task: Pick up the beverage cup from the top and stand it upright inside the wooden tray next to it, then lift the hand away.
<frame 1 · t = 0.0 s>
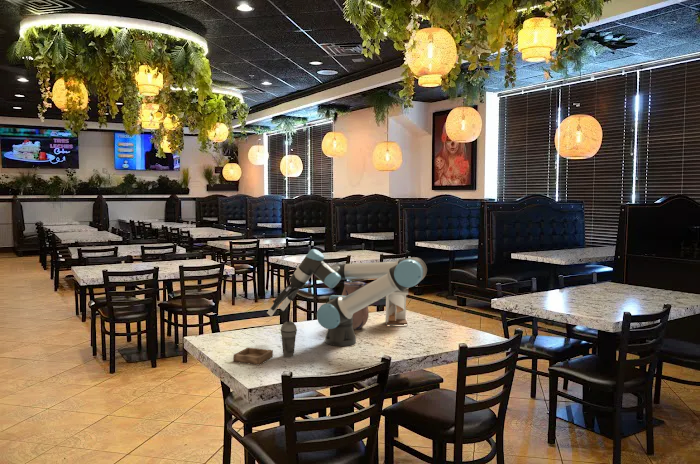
hand: (275, 311, 260), 15 cm above the table, tool tilted 35°, fingers open, 13 cm apart
wooden tray: (253, 359, 234), on the table
beverage cup: (288, 356, 240), on the table
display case: (396, 324, 307), on the table
ceramic pitcher: (354, 328, 296), on the table
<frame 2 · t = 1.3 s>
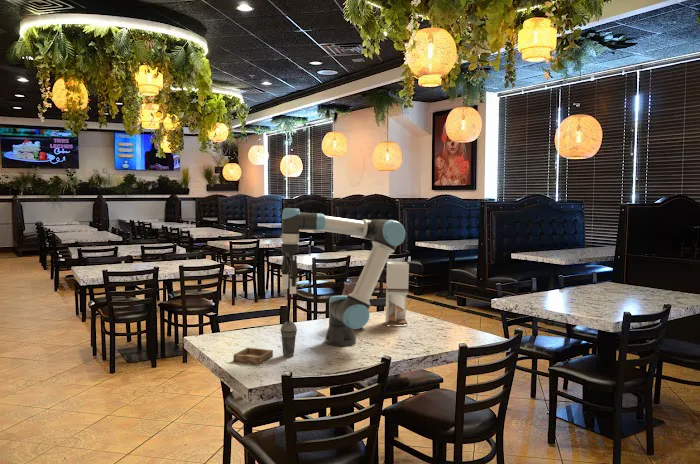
hand: (288, 291, 239), 29 cm above the table, tool pointing down, fingers open, 13 cm apart
nothing on the table moved.
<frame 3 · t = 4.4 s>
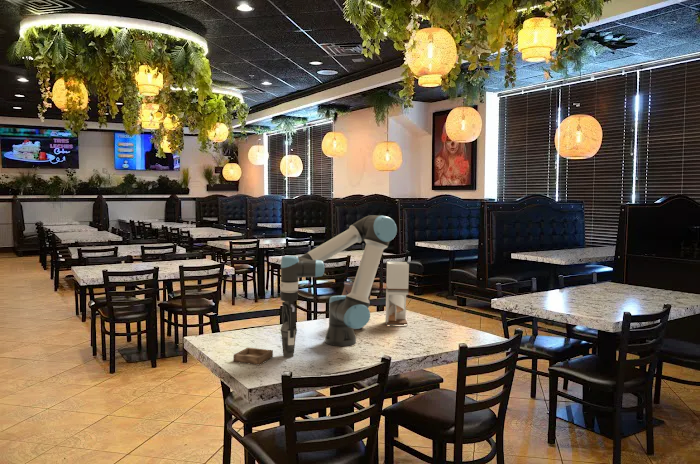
hand: (288, 342, 240), 6 cm above the table, tool pointing down, fingers closed on beverage cup, 7 cm apart
beverage cup: (288, 356, 240), on the table, touching gripper
everything else where it was.
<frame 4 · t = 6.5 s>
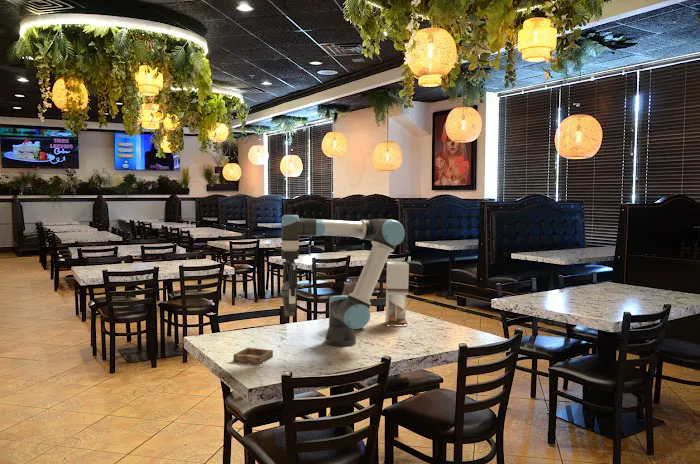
hand: (289, 301, 239), 24 cm above the table, tool pointing down, fingers closed on beverage cup, 7 cm apart
beverage cup: (289, 315, 239), point 18 cm above the table, touching gripper
everything else where it was.
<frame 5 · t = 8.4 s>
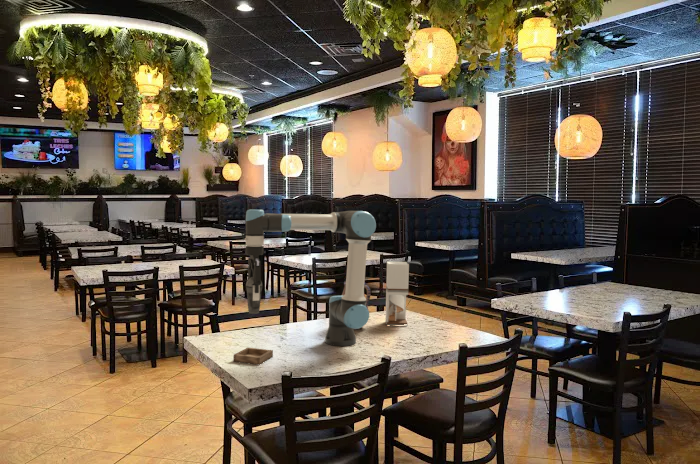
hand: (254, 298, 233), 26 cm above the table, tool pointing down, fingers closed on beverage cup, 7 cm apart
beverage cup: (253, 313, 233), point 20 cm above the table, touching gripper
everything else where it was.
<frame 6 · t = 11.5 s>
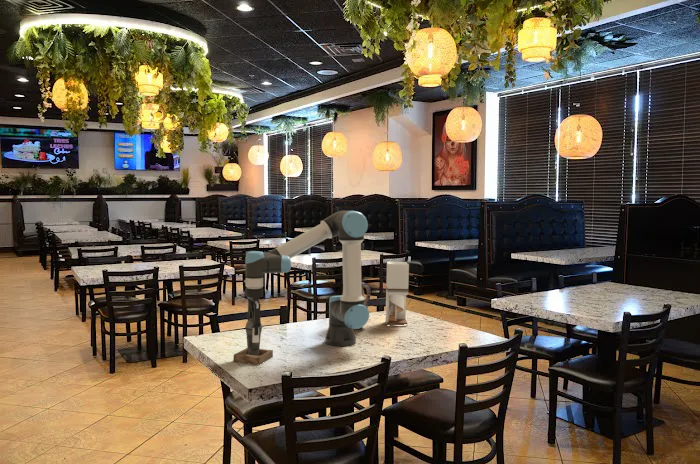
hand: (253, 340, 234), 8 cm above the table, tool pointing down, fingers closed on beverage cup, 7 cm apart
beverage cup: (253, 354, 234), point 2 cm above the table, touching gripper
everything else where it was.
when the fingers open (8 cm above the table, at t = 12.5 s): beverage cup drops 1 cm, resting on wooden tray.
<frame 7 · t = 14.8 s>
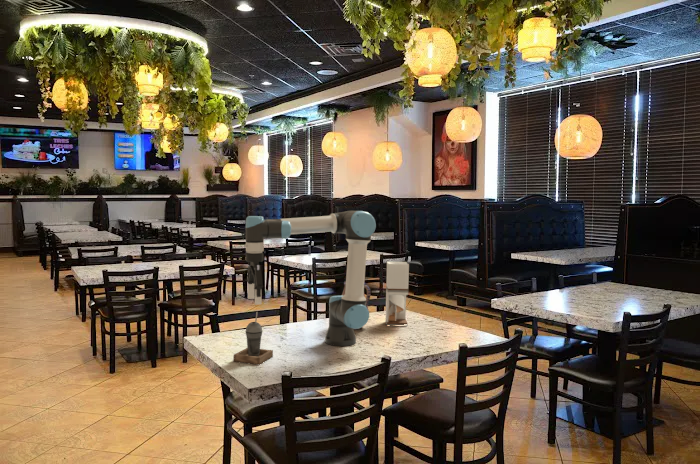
hand: (254, 301, 233), 25 cm above the table, tool pointing down, fingers open, 13 cm apart
beverage cup: (253, 357, 234), point 1 cm above the table, touching wooden tray
everything else where it was.
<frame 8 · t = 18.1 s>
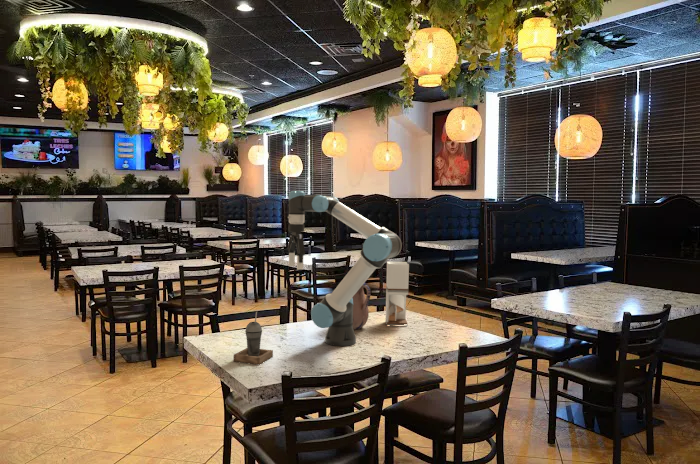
hand: (295, 267, 260), 37 cm above the table, tool pointing down, fingers open, 13 cm apart
nothing on the table moved.
at the end: beverage cup 0.1 cm off-centre on the wooden tray, point 0.6 cm above the wooden tray's base; beverage cup tilted 1°; the gripper is holding nothing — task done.
